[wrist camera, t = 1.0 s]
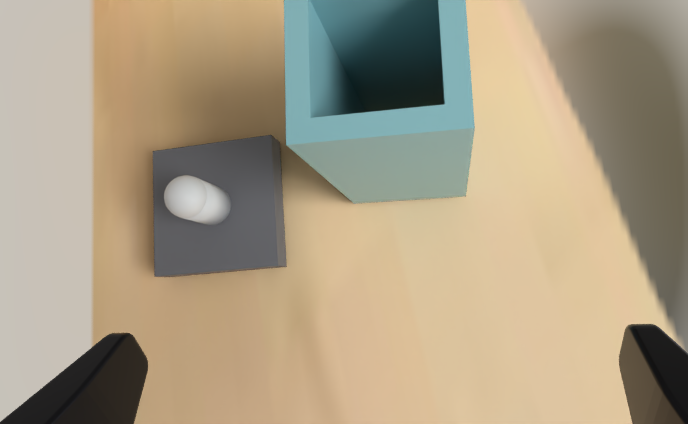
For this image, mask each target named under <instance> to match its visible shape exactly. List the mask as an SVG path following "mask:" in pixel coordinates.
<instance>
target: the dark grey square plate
mask: <svg viewBox="0 0 688 424" xmlns="http://www.w3.org/2000/svg"><path fill="white" fill-rule="evenodd" d="M153 198H154V268H155V277H175V276H187V275H198V274H209V273H221V272H232V271H243V270H255V269H266V268H277V267H287V266H286V248H285V230H284V212H283V194H282V176H281V158H280V142H279V141H278V140H277V139H275V138H274V137H273V136H272V135H267V136H260V137H252V138H245V139H238V140H231V141H224V142H216V143H209V144H202V145H195V146H188V147H181V148H173V149H166V150H159V151H153Z"/></svg>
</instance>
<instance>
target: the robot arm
mask: <svg viewBox="0 0 688 424" xmlns="http://www.w3.org/2000/svg"><path fill="white" fill-rule="evenodd" d="M619 366H620V372H621V376H622V380H623V385H624V389H625V393H626V397H627V402H628V406H629V410H630V415H631V419H632V423H633V424H688V353H687V352H686V351H685V350H683V349H682V348H681V347H680V346H679V345H678V344H677V343H676V342H675V341H673V340H672V339H671V338H670V337H669V336H668V335H667V334H666V333H665V332H664V331H662V330H661V329H660V328H659V327H657V326H656V325H653V324H631V325H628V326H627V327H626V329H625V332H624V337H623V341H622V346H621V350H620V355H619ZM147 371H148V361H147V358H146V356H145V354H144V352H143V351H142V349H141V348H140V346H139V344H138V343H137V341H136V339H135V338H134V336H133V335H131V334H130V333H112V334H109V335H107V336H106V337H104V338H103V339H102V340H101V341H99V342H98V343H97V344H96V345H94V346H93V347H92V348H91V349H90V350H89V351H87V352H86V353H85V354H84V355H82V356H81V357H80V358H78V359H77V360H76V361H75V362H74V363H72V364H71V365H70V366H69V367H67V368H66V369H65V370H64V371H63V372H61V373H60V374H59V375H58V376H56V377H55V378H54V379H53V380H51V381H50V382H49V383H48V384H46V385H45V386H44V387H43V388H42V389H40V390H39V391H38V392H37V393H36V394H34V395H33V396H32V397H30V398H29V399H28V400H27V401H26V402H24V403H23V404H22V405H21V406H19V407H18V408H17V409H16V410H14V411H13V412H12V413H11V414H10V415H8V416H7V417H6V418H5V419H3V420H2V421H1V422H0V424H134V421H135V417H136V413H137V409H138V406H139V402H140V398H141V394H142V390H143V387H144V383H145V379H146V375H147Z"/></svg>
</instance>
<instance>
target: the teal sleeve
mask: <svg viewBox="0 0 688 424" xmlns="http://www.w3.org/2000/svg"><path fill="white" fill-rule="evenodd" d="M284 31H285V102H286V145H287V146H288V147H289V148H290V149H291V150H293V151H294V152H295V153H296V154H297V155H298V156H299V157H301V158H302V159H303V160H304V161H305V162H306V163H308V164H309V165H310V166H311V167H312V168H313V169H315V170H316V171H317V172H318V173H319V174H320V175H322V176H323V177H324V178H325V179H326V180H327V181H328V182H330V183H331V184H332V185H333V186H334V187H335V188H337V189H338V190H339V191H340V192H341V193H342V194H344V195H345V196H346V197H347V198H348V199H349V200H351V201H352V202H353V203H354V204H355V203H370V202H385V201H401V200H416V199H431V198H446V197H462V196H466V190H467V182H468V174H469V167H470V159H471V151H472V144H473V136H474V128H475V127H474V113H473V99H472V85H471V71H470V57H469V44H468V30H467V16H466V2H465V0H284ZM443 104H444V105H443ZM433 105H434V106H433ZM423 106H424V107H423ZM413 107H414V108H413ZM403 108H404V109H403ZM393 109H394V110H393ZM383 110H384V111H383ZM373 111H374V112H373Z"/></svg>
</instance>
